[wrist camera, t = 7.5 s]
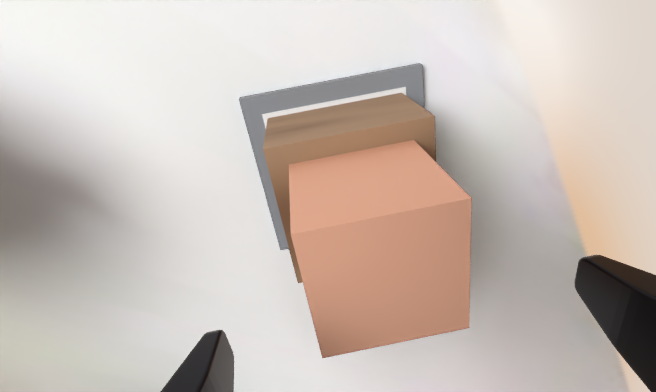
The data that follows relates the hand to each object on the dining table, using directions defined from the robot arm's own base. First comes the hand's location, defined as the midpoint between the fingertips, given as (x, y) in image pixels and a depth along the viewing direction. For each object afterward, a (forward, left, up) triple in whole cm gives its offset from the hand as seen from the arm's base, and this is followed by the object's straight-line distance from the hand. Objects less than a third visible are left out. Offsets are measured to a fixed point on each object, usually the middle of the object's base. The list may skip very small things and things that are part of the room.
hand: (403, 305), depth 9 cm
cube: (0, 0, -5) cm, 5 cm away
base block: (0, 0, -9) cm, 9 cm away
